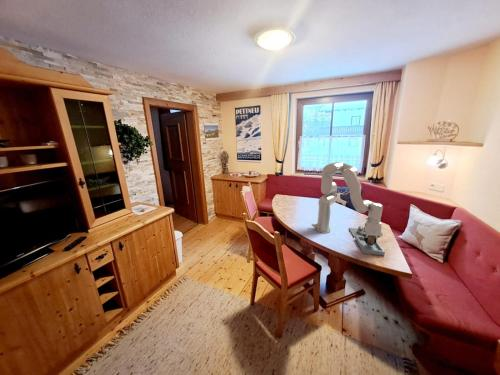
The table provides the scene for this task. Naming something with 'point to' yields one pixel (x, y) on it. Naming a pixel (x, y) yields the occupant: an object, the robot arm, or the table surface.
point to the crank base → (355, 232)
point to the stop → (370, 240)
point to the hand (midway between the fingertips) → (369, 242)
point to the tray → (369, 247)
